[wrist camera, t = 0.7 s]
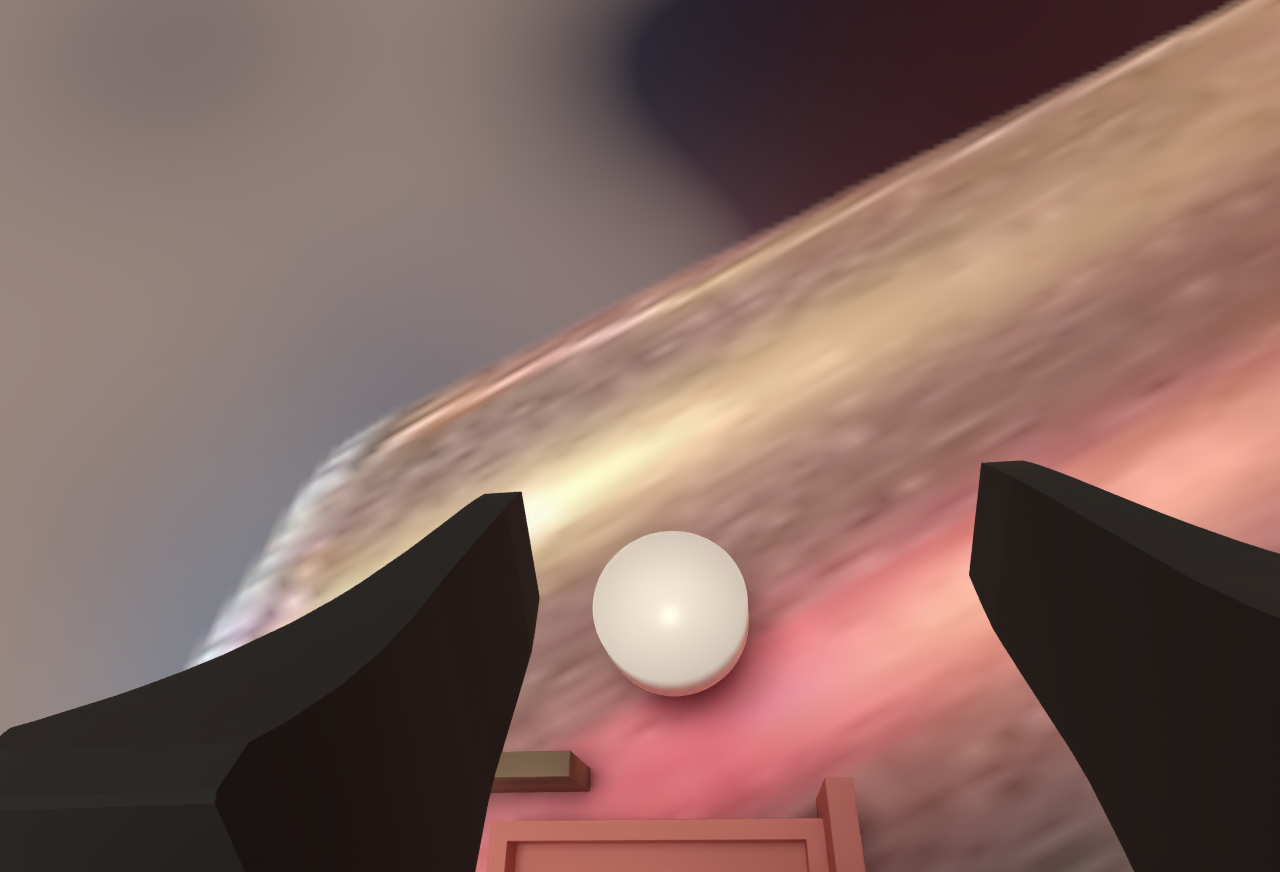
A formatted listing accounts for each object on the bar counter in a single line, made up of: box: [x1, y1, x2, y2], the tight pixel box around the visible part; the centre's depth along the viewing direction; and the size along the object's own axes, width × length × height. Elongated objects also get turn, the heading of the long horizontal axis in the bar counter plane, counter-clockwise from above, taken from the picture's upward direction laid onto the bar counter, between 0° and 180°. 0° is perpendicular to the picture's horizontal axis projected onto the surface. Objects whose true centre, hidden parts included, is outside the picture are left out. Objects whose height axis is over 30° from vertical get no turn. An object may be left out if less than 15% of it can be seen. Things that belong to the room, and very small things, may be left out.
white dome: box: [593, 531, 749, 696], centre depth 26 cm, size 5×5×2 cm
